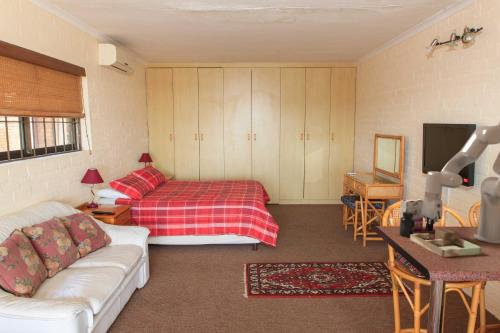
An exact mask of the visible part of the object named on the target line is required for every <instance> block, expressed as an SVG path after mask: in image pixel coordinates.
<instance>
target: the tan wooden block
mask: <svg viewBox="0 0 500 333" xmlns="http://www.w3.org/2000/svg"><path fill="white" fill-rule="evenodd" d="M434 231H435V232H434V240H436V239H442V240H443V242H442V246H453V245H455V243H454V241H455V236H456V232H454V231H453V230H450V229H448V228H436V229H435V230H434ZM452 244H453V245H452Z"/></svg>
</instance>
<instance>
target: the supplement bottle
mask: <svg viewBox="0 0 500 333" xmlns="http://www.w3.org/2000/svg"><path fill="white" fill-rule="evenodd" d="M412 217H413V213H412V212H403V217H401V219H399V220H400V221H399V232H398V233H399V235H400V236H402V237H404V238H410V234H415V230H414V225H415V220H414V218H412Z"/></svg>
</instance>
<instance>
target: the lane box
mask: <svg viewBox="0 0 500 333" xmlns="http://www.w3.org/2000/svg"><path fill="white" fill-rule="evenodd" d="M426 239H429V240H426ZM409 240H410V242H412V243H414V242H415V243H414V244H416V243H417V244H416V245H419V246H421V247H422V248H424V249H426V250H428V251H430V252H432V253H434V254H435V255H437V256H440V257H441V258H446V257H447V258H448V257H461V250H462V249H460V248H464V247H463V246H464V241H466V240H465V239H463V238H460V237H458V236H456V235H455V241H454V244H456V245H458V246H460V247H459V248H456V249H441V248H439V247H437V246H442V247H443V245H442V242H443V240H442V239H436V240H435V239H430V233H429V232H425V233H424V232H423V233H414V234H410V237H409Z"/></svg>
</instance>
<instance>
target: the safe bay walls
mask: <svg viewBox="0 0 500 333" xmlns="http://www.w3.org/2000/svg"><path fill="white" fill-rule="evenodd" d="M439 248H441V249H456V248H460V249H462V250H461V256H462V257H463V256H473V255H481V254H482V250H483V249H482V246H479V245H477V244H474V243H472V242H470V241H468V240H465V241H464V246H463V247H459V246H457V245H445V246H442V247H439ZM461 256H460V257H461Z"/></svg>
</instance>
